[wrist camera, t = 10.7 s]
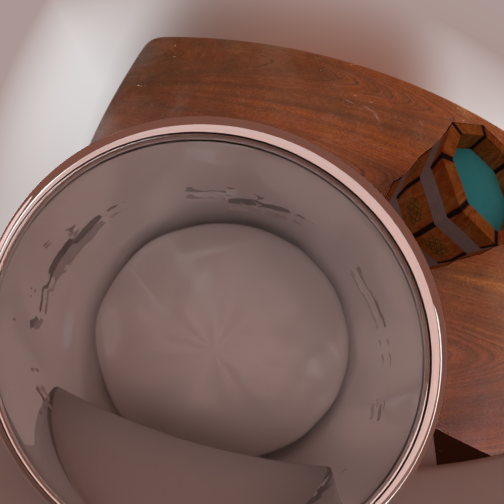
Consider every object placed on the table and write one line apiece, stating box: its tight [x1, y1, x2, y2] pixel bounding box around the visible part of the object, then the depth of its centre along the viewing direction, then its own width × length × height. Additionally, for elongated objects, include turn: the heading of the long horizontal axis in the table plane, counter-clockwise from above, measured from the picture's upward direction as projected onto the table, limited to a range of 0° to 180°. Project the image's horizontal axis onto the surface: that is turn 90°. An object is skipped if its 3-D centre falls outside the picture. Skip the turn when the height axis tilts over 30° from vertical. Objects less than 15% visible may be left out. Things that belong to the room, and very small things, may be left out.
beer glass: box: [0, 116, 448, 504], centre depth 10 cm, size 7×7×15 cm
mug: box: [385, 122, 504, 269], centre depth 29 cm, size 20×14×15 cm
